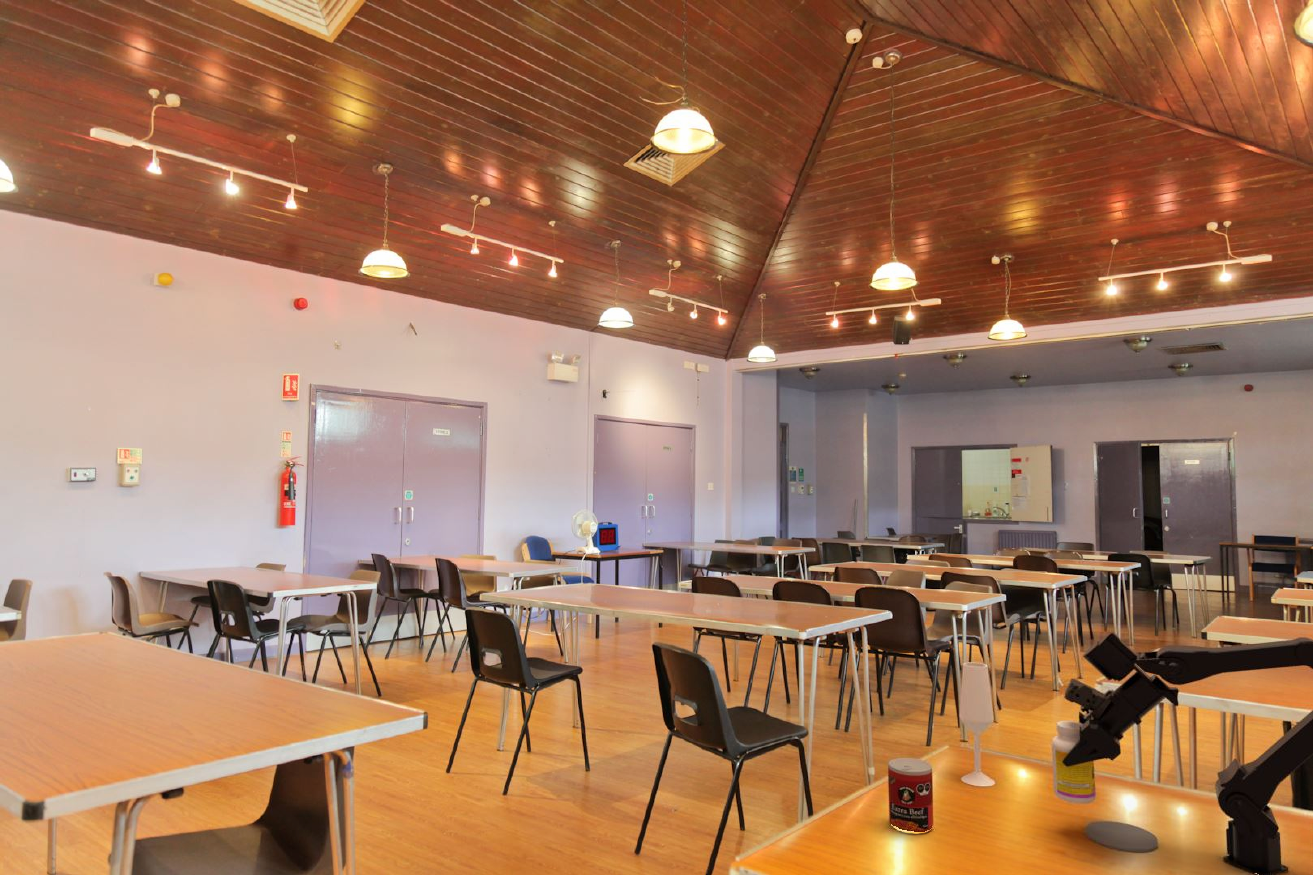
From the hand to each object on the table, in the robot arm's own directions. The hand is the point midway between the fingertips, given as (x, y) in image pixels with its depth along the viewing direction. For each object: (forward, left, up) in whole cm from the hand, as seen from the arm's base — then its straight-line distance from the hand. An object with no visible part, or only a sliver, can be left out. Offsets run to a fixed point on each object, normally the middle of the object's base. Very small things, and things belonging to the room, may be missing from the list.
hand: (1064, 758), depth 147 cm
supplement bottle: (-1, -1, -7) cm, 7 cm away
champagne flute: (+26, -4, -13) cm, 29 cm away
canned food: (+12, +24, -13) cm, 30 cm away
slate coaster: (-5, -7, -13) cm, 16 cm away
